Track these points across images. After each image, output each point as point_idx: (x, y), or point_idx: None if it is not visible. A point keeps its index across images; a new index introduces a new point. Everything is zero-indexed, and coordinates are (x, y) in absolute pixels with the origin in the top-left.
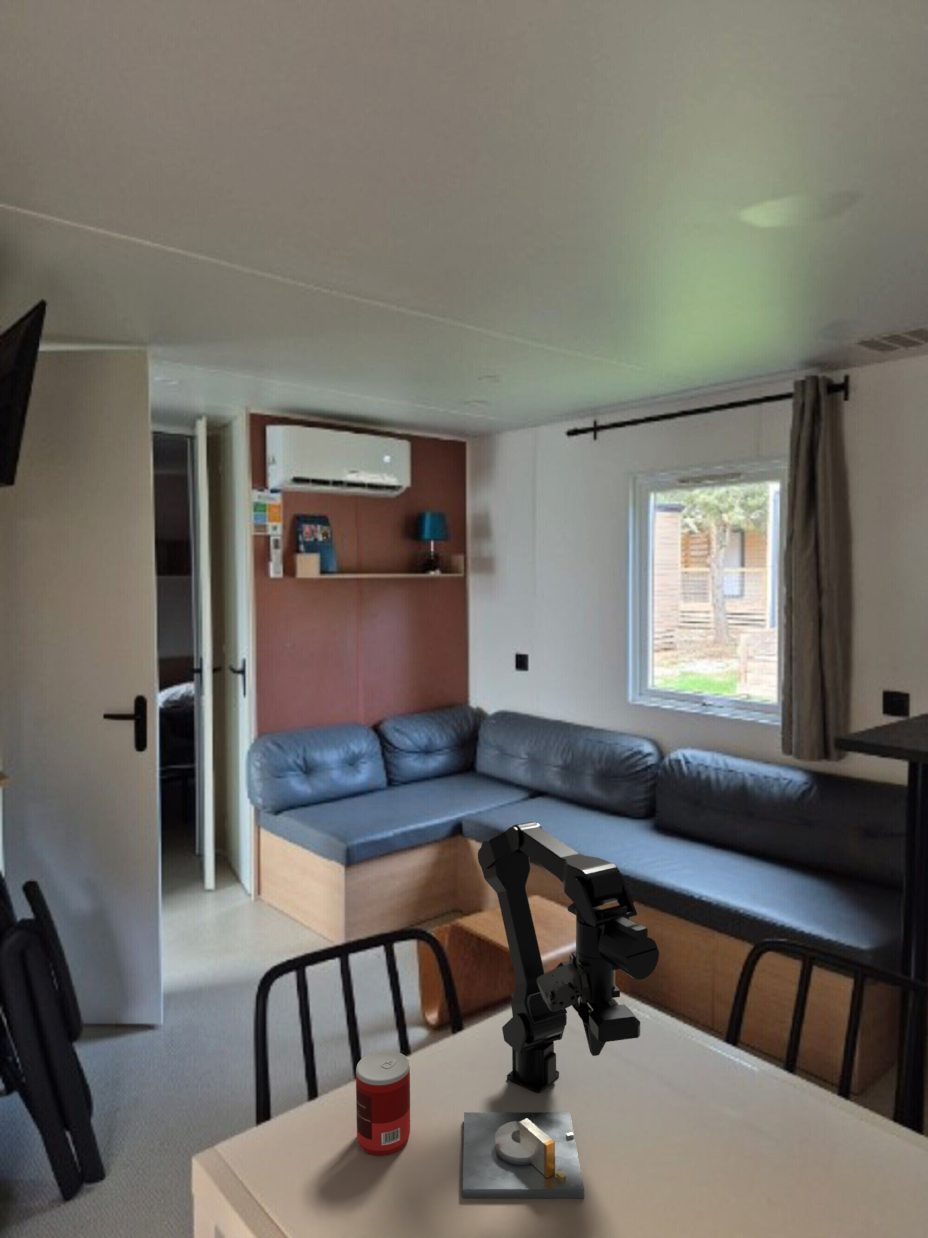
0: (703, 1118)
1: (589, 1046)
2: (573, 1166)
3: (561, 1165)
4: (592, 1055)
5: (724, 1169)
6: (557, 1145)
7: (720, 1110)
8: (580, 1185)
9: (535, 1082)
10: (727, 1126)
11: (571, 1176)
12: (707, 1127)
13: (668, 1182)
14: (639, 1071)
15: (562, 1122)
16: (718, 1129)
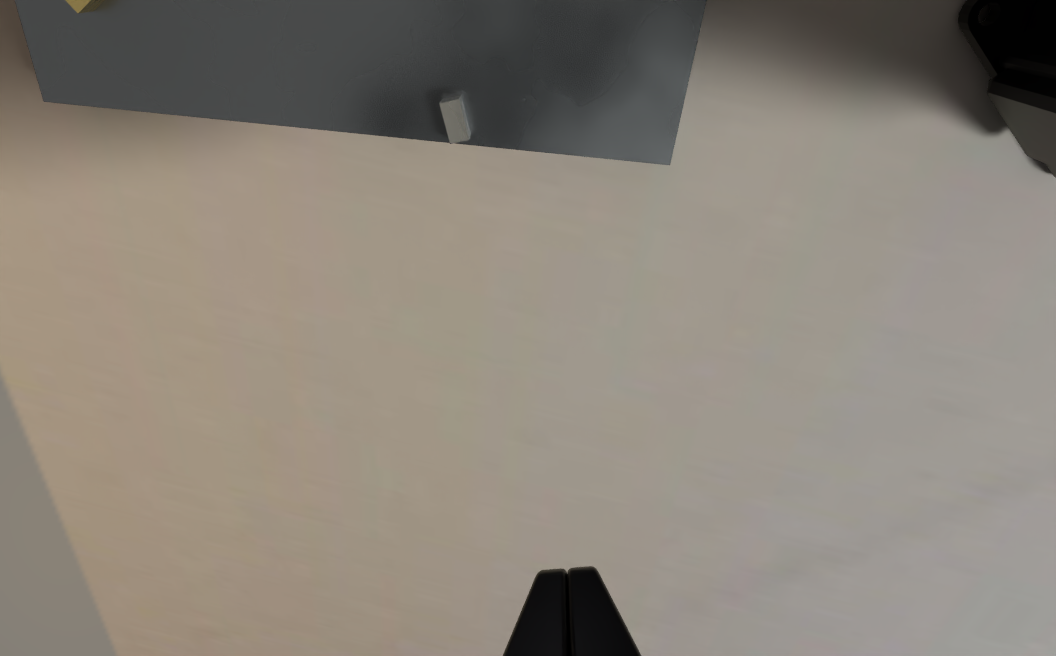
0: None
1: (588, 630)
2: (213, 82)
3: (210, 10)
4: (540, 573)
5: (329, 584)
6: (386, 24)
7: None
8: (68, 88)
9: (1046, 5)
10: None
11: (129, 52)
12: None
13: (246, 435)
14: (906, 508)
15: (588, 101)
16: None
